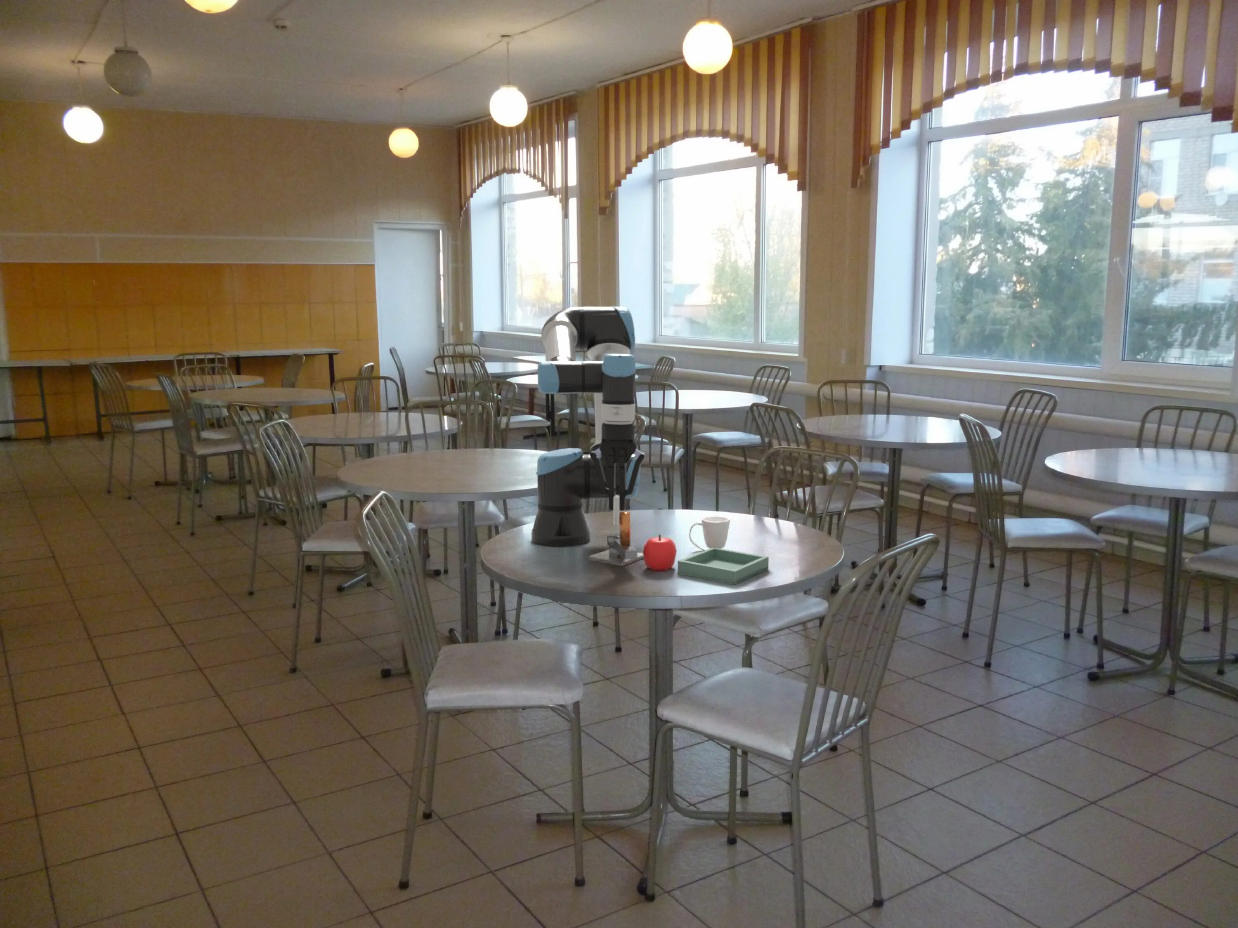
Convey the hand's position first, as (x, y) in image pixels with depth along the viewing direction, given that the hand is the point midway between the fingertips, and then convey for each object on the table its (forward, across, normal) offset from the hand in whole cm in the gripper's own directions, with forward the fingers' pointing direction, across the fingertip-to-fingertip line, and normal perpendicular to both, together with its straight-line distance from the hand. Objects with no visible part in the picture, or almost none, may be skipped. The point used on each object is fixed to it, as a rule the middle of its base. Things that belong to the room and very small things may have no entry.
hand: (616, 523), depth 231 cm
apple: (+11, +10, +1) cm, 15 cm away
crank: (+7, +1, +3) cm, 7 cm away
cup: (+10, +20, +18) cm, 29 cm away
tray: (+10, +25, 0) cm, 27 cm away
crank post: (+10, -1, +8) cm, 13 cm away
